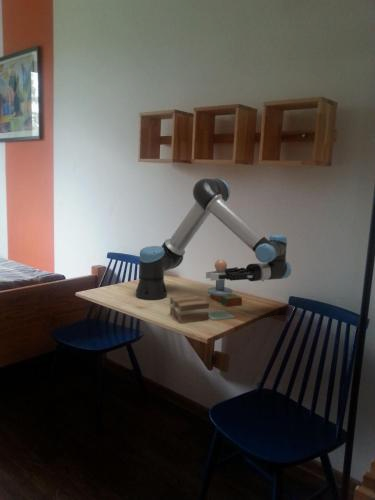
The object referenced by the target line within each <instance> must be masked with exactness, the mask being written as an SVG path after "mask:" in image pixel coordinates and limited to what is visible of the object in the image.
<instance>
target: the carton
mask: <svg viewBox="0 0 375 500" xmlns="http://www.w3.org/2000/svg"><path fill="white" fill-rule="evenodd" d="M209 296H210V299H212V300H214V301H215V302H217V303H219V304H220V305H222V306H224V307H226V308H231V307H237V306H238V307H239V306H243V305H242V304H243V298H242V296H239V295H238V294H236V293H234V292H232V294H231V295H228V296H215V295H211V294H209Z"/></svg>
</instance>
